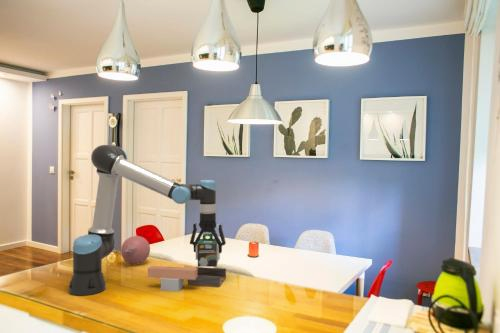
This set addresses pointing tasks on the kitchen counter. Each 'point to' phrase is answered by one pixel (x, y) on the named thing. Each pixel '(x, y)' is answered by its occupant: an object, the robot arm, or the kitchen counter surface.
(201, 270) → the cradle
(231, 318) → the kitchen counter surface
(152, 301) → the kitchen counter surface
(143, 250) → the balloon
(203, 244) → the chalk box
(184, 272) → the bar
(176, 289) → the white and tan block
